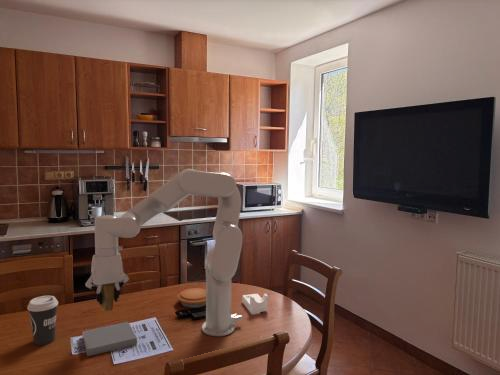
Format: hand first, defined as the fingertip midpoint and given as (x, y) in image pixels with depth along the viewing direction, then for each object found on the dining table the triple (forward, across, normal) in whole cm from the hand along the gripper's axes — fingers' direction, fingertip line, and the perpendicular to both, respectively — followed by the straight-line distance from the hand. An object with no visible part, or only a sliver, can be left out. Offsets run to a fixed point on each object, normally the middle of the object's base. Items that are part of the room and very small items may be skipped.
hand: (108, 301), depth 132 cm
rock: (+2, 0, 0) cm, 2 cm away
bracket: (+15, -60, 0) cm, 62 cm away
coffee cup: (+15, +20, -11) cm, 27 cm away
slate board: (+15, 0, 0) cm, 15 cm away
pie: (+15, -39, -17) cm, 45 cm away
